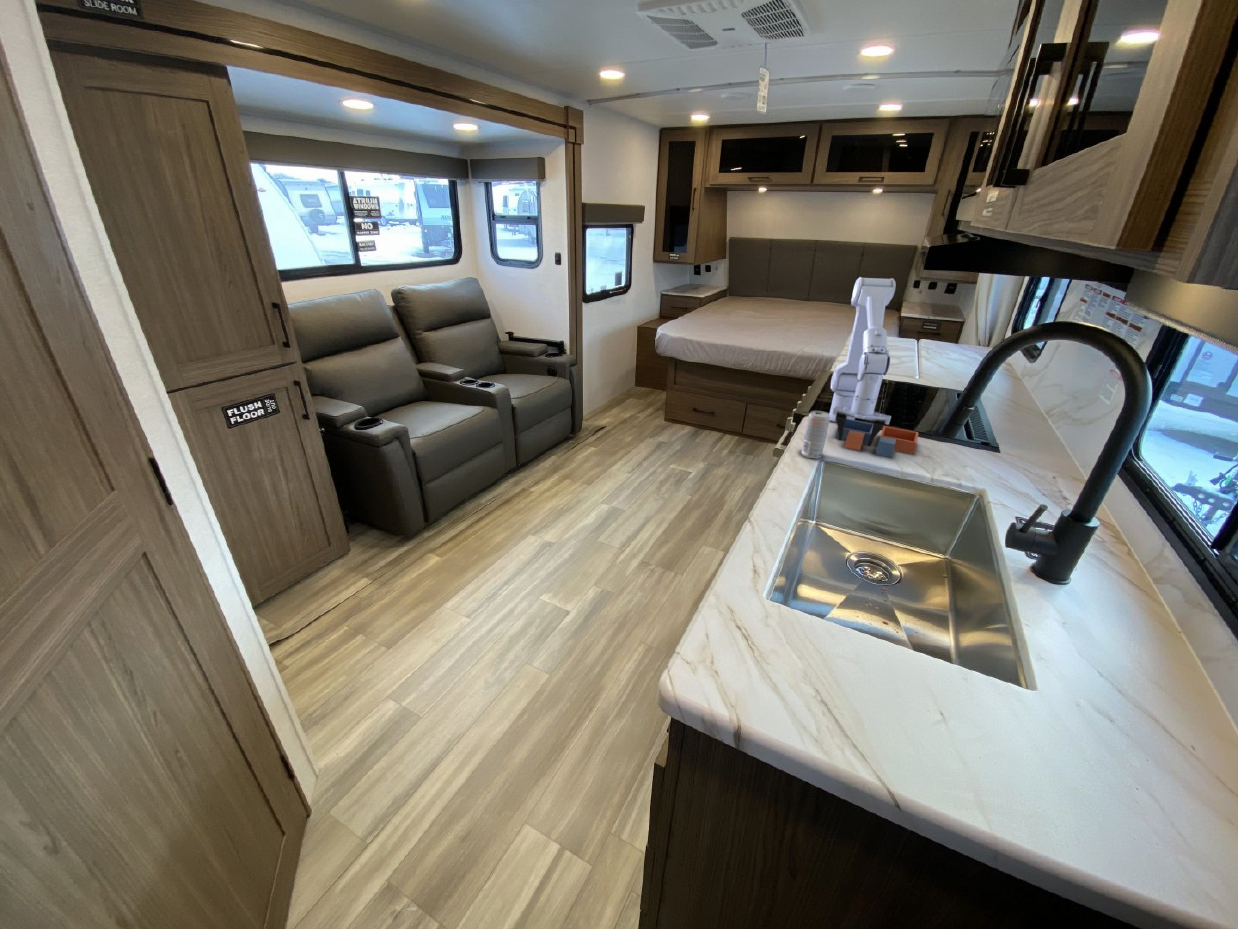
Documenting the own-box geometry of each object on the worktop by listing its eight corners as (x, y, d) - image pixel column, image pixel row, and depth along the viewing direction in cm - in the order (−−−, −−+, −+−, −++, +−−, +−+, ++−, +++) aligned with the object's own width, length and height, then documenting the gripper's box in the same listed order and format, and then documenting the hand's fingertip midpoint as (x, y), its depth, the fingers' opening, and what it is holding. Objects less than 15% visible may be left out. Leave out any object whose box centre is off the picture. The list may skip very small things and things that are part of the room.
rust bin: (880, 436, 149) (883, 425, 147) (915, 443, 144) (918, 432, 143) (877, 446, 142) (880, 435, 140) (913, 454, 137) (916, 442, 136)
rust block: (846, 442, 144) (850, 430, 142) (861, 446, 142) (865, 433, 140) (844, 447, 141) (847, 434, 139) (859, 450, 139) (863, 437, 137)
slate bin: (840, 428, 154) (842, 417, 152) (872, 434, 150) (875, 424, 148) (835, 438, 147) (837, 427, 145) (868, 445, 143) (871, 433, 141)
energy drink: (818, 451, 138) (827, 410, 133) (823, 459, 133) (833, 418, 128) (799, 450, 138) (807, 409, 133) (803, 458, 134) (812, 416, 128)
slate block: (876, 449, 140) (880, 436, 138) (892, 452, 138) (896, 439, 136) (875, 454, 137) (878, 441, 135) (891, 457, 135) (894, 444, 133)
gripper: (835, 395, 135) (825, 441, 141) (893, 405, 128) (880, 453, 134) (839, 389, 140) (829, 433, 146) (896, 398, 134) (883, 444, 140)
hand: (854, 442), depth 141 cm, fingers open, 7 cm apart
